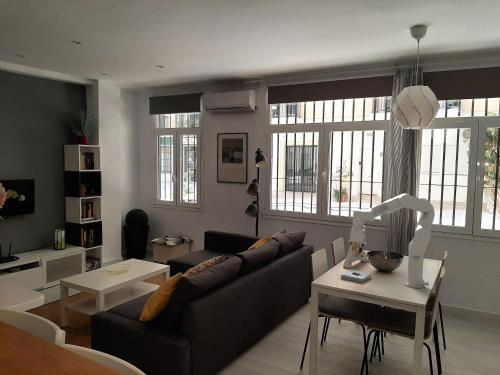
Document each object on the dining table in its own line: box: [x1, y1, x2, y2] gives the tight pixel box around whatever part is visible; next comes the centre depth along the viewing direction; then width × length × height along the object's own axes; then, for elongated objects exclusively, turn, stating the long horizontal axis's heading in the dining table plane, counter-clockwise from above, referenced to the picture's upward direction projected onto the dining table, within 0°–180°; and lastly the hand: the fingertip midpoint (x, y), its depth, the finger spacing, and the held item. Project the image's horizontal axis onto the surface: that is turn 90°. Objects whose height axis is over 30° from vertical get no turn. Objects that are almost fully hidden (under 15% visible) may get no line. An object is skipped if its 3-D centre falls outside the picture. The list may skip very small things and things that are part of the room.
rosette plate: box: [340, 269, 372, 284], centre depth 281 cm, size 16×16×3 cm
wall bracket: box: [342, 244, 369, 270], centre depth 319 cm, size 22×4×30 cm
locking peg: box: [353, 242, 361, 257], centre depth 279 cm, size 4×4×10 cm
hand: (357, 251), depth 279 cm, fingers closed on locking peg, 4 cm apart
